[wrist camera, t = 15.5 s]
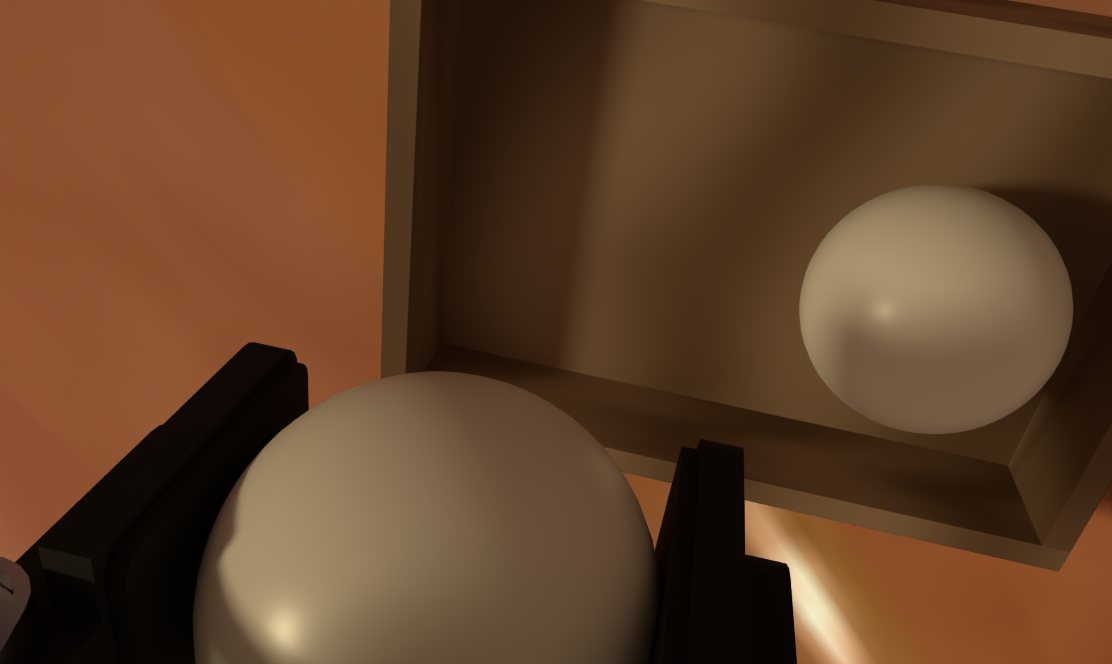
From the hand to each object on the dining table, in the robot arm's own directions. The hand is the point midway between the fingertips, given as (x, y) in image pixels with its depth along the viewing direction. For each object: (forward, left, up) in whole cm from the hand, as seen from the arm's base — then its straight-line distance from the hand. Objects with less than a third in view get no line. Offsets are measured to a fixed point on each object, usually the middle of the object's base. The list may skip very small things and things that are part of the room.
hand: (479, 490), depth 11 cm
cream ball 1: (0, 0, -1) cm, 1 cm away
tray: (-4, 0, -11) cm, 12 cm away
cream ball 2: (-7, 0, -11) cm, 13 cm away
